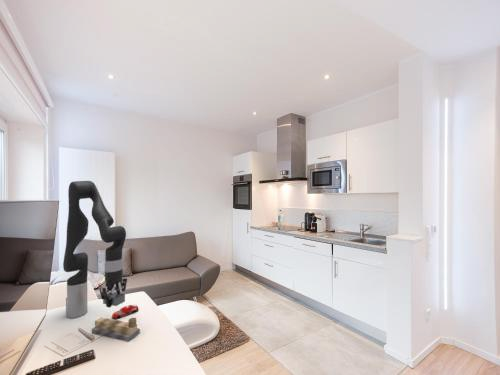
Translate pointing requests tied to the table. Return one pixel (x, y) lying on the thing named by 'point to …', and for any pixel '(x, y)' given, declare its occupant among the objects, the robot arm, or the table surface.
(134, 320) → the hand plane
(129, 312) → the race car
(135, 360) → the table surface
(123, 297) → the grey rectangular box
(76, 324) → the table surface
